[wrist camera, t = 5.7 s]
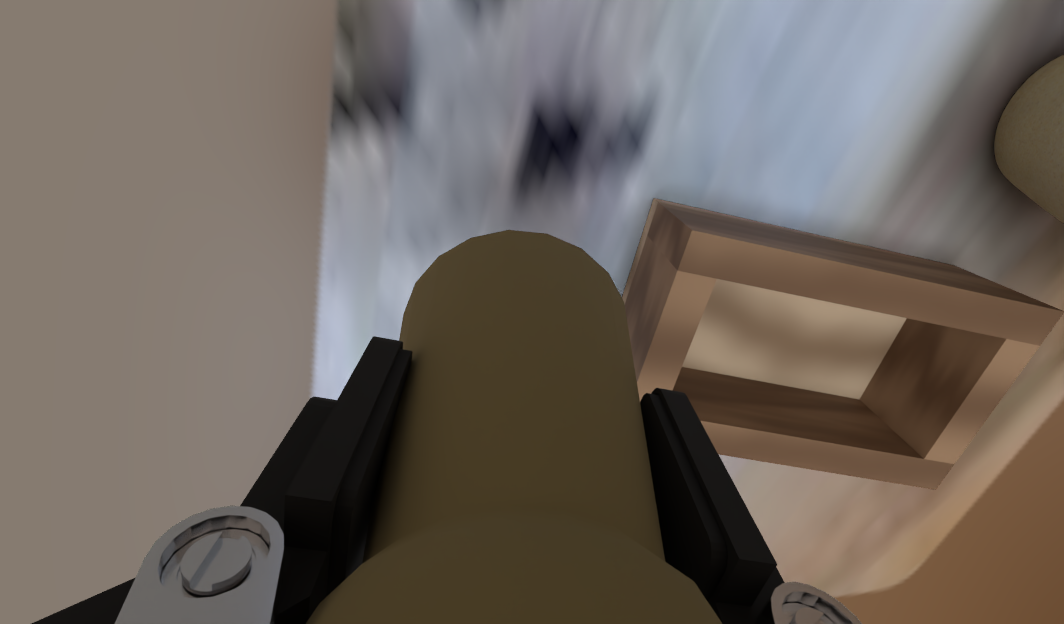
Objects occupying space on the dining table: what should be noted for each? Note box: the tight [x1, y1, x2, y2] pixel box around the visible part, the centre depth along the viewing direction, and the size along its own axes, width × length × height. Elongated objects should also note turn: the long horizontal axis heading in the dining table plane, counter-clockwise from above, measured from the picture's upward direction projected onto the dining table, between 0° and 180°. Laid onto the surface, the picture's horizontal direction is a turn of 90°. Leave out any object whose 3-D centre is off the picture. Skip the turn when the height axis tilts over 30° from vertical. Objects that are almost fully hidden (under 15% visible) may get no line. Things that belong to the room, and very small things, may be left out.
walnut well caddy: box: [622, 198, 1064, 490], centre depth 30 cm, size 12×20×7 cm, turn 77°
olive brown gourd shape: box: [306, 230, 722, 624], centre depth 8 cm, size 6×6×11 cm
